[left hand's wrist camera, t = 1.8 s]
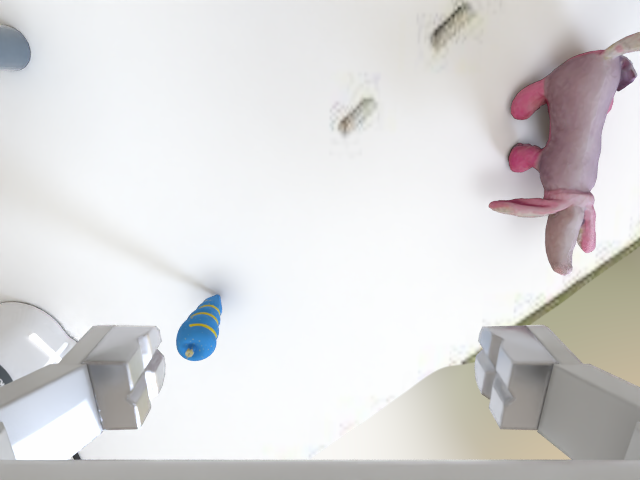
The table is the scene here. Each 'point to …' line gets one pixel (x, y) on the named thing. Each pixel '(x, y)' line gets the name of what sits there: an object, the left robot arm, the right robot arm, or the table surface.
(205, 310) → the ornament
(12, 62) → the bottle
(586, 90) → the toy
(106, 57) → the table surface
